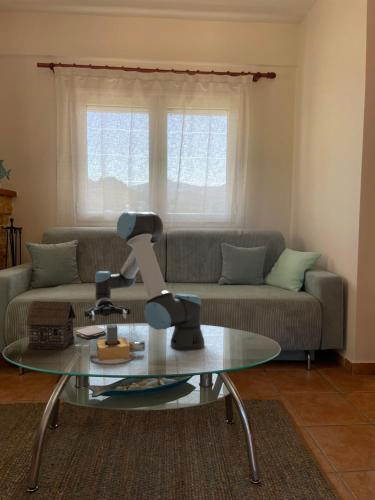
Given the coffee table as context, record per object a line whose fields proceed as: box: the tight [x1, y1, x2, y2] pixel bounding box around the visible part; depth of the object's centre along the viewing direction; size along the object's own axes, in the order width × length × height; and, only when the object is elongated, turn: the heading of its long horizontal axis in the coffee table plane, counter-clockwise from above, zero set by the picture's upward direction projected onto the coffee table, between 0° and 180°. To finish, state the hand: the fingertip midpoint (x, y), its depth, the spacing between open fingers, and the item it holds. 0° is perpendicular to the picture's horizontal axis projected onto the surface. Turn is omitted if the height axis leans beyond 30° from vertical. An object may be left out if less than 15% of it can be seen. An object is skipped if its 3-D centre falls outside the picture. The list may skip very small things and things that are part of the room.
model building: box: [25, 300, 77, 350], centre depth 189 cm, size 18×14×20 cm
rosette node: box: [89, 337, 146, 366], centre depth 173 cm, size 22×18×6 cm
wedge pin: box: [106, 324, 119, 345], centre depth 172 cm, size 4×4×12 cm
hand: (109, 316), depth 181 cm, fingers open, 13 cm apart
